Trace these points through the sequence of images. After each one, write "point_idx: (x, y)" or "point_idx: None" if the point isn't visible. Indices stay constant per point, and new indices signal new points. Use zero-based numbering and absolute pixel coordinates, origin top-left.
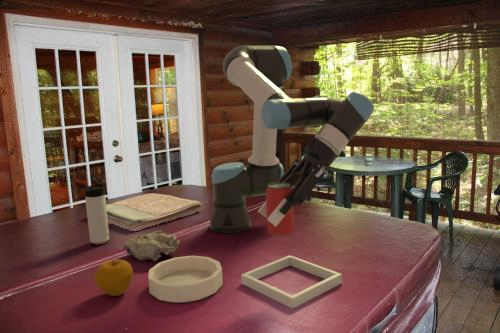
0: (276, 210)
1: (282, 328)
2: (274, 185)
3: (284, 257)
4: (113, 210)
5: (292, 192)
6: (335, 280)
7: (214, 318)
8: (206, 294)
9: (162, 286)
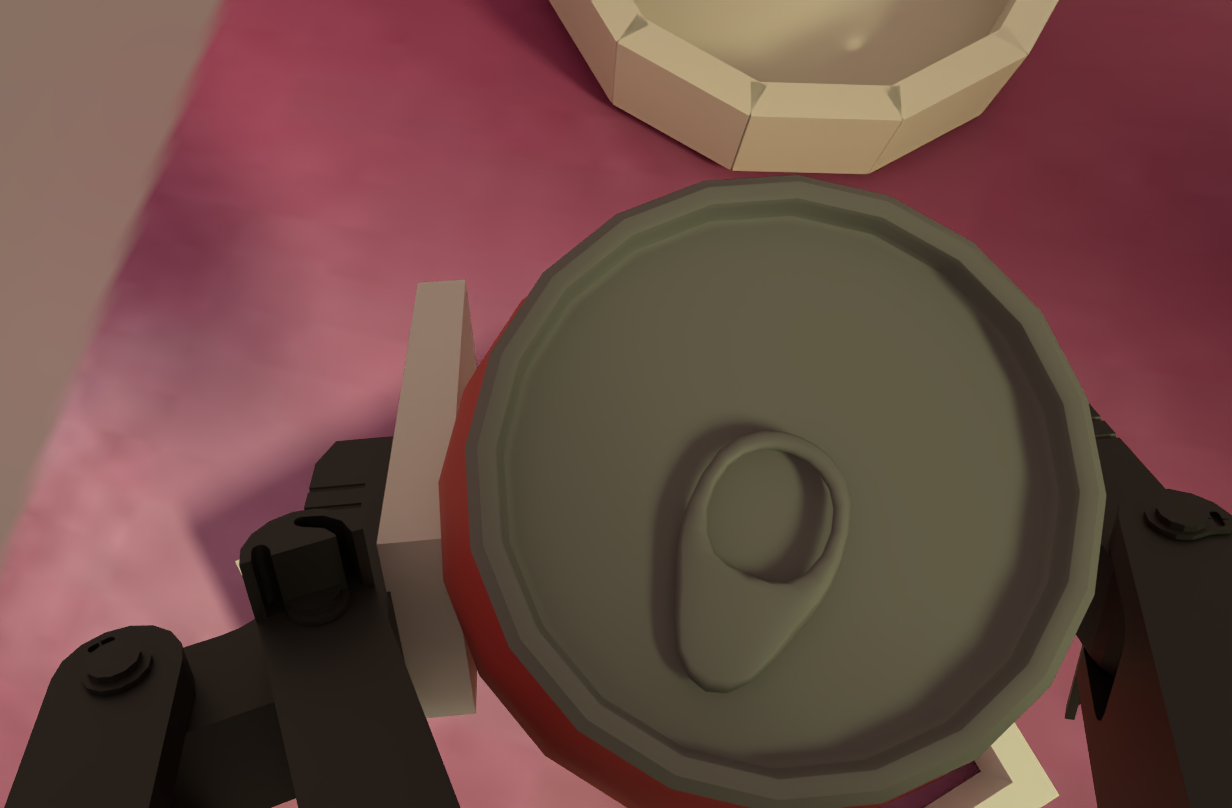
0: (402, 387)
1: (53, 432)
2: (926, 390)
3: (1013, 726)
4: None
5: (307, 717)
6: None
7: (311, 70)
8: (579, 40)
9: None
